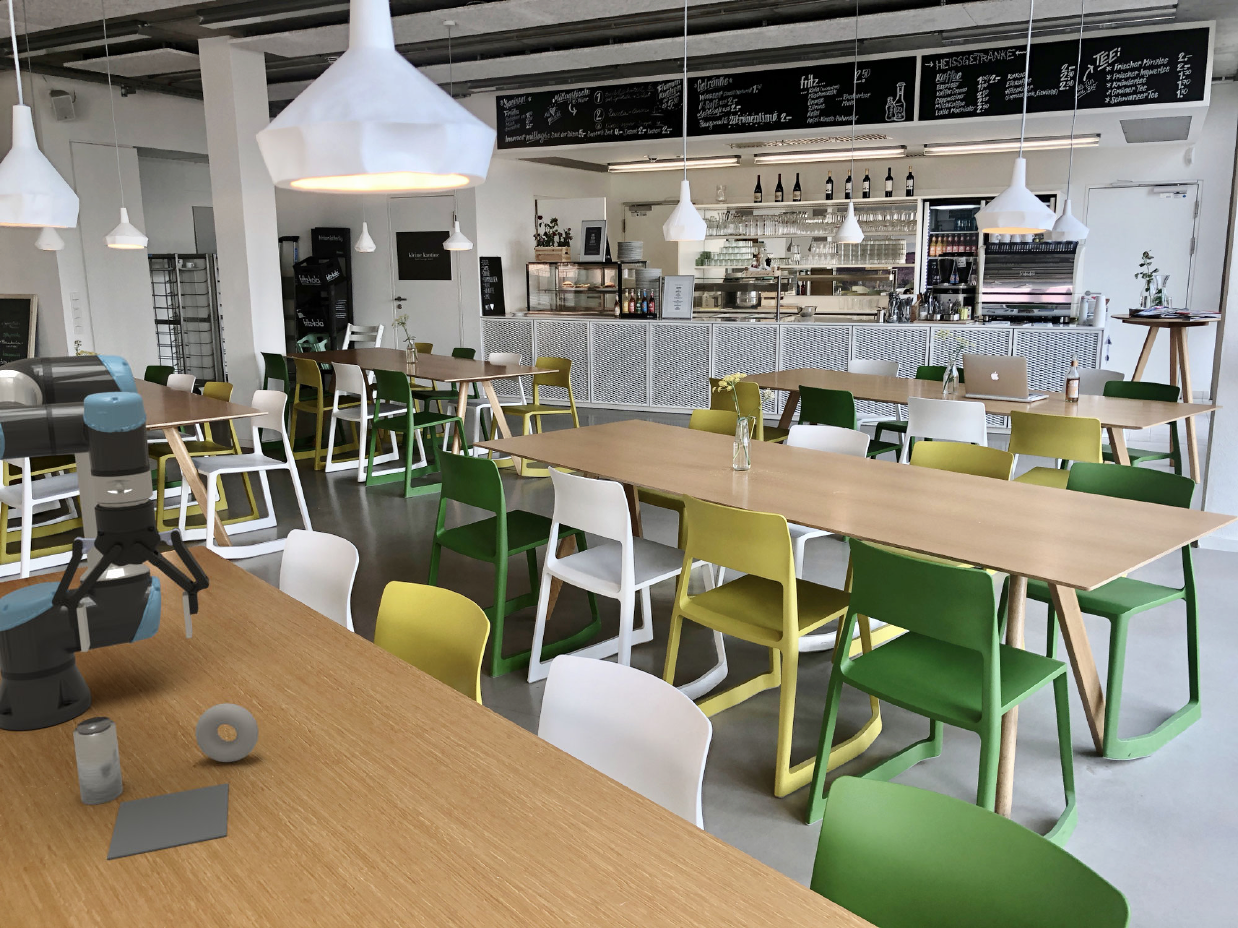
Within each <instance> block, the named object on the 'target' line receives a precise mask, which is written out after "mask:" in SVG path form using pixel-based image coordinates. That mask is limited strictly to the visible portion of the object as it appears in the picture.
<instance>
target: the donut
mask: <svg viewBox="0 0 1238 928" xmlns="http://www.w3.org/2000/svg"><path fill="white" fill-rule="evenodd" d="M222 725H228V726H230V727H232V728H233V729H234V730H235V733H236V737H235V739H233V740H225V739H223V738H222V737H221V736H220V734H219V732H218V731H219V730H218V729H219V727H221V726H222ZM194 735H195V739H196V742H197V746H198V748H199V749H200V750H201V751H202V753H203V754H204V755H206V756H207V757H208V758H210V759H212V760H214V761H216V762H222V763H231V762H232V763H233V762H237V761H240V760H242V759H243V758H245V757H247V756H248V755H249V754H250V753H251V752H252V751H253V750H254V748H255V747H256V744H257V742H258V740H259V727H258V722H257V720H256V719H255V717H254V716H253V714H252V713H251V712H250V711H249V710H248V709H247V708H245V707H243V706H241V705H239V704H234V703H228V702H226V703H225V702H224V703H219V704H215V705H213V706H211V707H210V708H208V709H206V710H205V711H204V712H203V713H202V714H201V715H200V717H199V719H198V721H197V723H196V725H195V734H194Z"/></svg>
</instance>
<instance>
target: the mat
mask: <svg viewBox="0 0 1238 928" xmlns="http://www.w3.org/2000/svg"><path fill="white" fill-rule="evenodd" d="M228 806H229V782H227V783H222V784H216V785H211V786H205V787H204V786H203V787H199V788H194V789H187V790H182V791H178V792H177V791H176V792H172V793H166V794H161V795H160V794H159V795H155V796H150V797H149V796H148V797H143V798H138V799H134V800H133V799H132V800H126V801H122V802H121V801H120V803H119V808H118V813H117V816H116V820H115V824H114V828H113V832H112V836H111V839H110V840H111V841H110V844H109V847H108V848H109V849H108V852H107V856H106V860H107V861H110V860H114V859H119V858H124V857H130V856H134V855H141V854H145V853H149V852H155V851H158V850H159V851H160V850H164V849H169V848H174V847H180V846H184V845H185V846H186V845H189V844H194V843H199V842H205V841H209V840H215V839H219V838H220V839H221V838H224V837H227V832H228V829H227V827H228V812H229V811H228V808H229V807H228Z"/></svg>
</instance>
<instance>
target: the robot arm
mask: <svg viewBox="0 0 1238 928" xmlns="http://www.w3.org/2000/svg"><path fill="white" fill-rule="evenodd" d="M134 378H135V377H134V374H133V371H132V369H131V366H130V364H129V362H128V361H127V360H126V359H125V357H123V356H120V355H112V354H111V355H108V354H107V355H106V354H92V355H91V354H90V355H89V354H88V355H70V356H49V357H41V356H40V357H39V356H35V357H28V358H22V359H18V360H17V359H16V360H14V361H11V362H8V363H5V364H3V365H1V366H0V461H4V460H13V459H24V458H35V457H46V456H62V455H74V457H75V458H74V459H75V466H76V475H77V476H76V477H77V484H78V492H79V500H80V501H79V502H80V507H81V508H80V509H81V510H80V511H81V518H82V526H83V535H84V537H83V536H80V535H78V536H76V537H75V538H74V540H73V542H72V545H71V546H72V547H71V550H72V551H71V557H70V559H69V562H68V564H67V567H66V569H65V571H64V573H63V575H62V577H61V579H60V581H47V582H46V581H45V582H40V583H36V584H31V585H28V586H24V587H21V588H19V589H16V590H14V591H10V592H9V593H8V594H5V595H3V596H2V597H0V728H1V729H4V730H9V731H28V730H36V729H41V728H46V727H51V726H54V725H59V724H61V723H64V722H67V721H70V720H71V719H74V718H76V717H78V716H80V715H81V714H83V713H85V711H87V710H88V709H89V708H90V707H91V705H92V696H91V695H92V694H91V689H90V688H89V686H88V684H87V682H86V681H85V679H84V677H83V675H82V673H81V671H80V669H79V668H78V666H77V661H76V653H79V652H81V653H86V652H88V651H90V650H95V649H100V648H101V649H102V648H106V647H112V646H117V645H123V644H127V643H128V644H133V643H135V642H139V641H143V640H147V639H152V637H154V636H156V634H157V633H158V631H159V629H160V624H161V614H162V593H161V591H162V590H161V588H162V587H161V580H160V578H159V576H156V575H151V570H150V567H149V566H147V565H146V564H145V563H146V562H148V563H149V564H151V565H152V566H154V567H156V568H157V569H158V570H159V571H161V572H162V573H163V574H164V575H165V576H166V577H168V578H169V579H170V580H172V582H174V583H175V584H176V585H178V586H179V587H180V589H182V590H183V591H182V605H183V617H184V627H185V638H186V639H192V638H193V625H192V624H193V623H192V615H197V614H198V612H199V598H198V597H199V596H198V593H199V592H200V591H202V590H205V589H208V588H209V587H210V578H209V577H208V575H207V574H206V572H205V571H204V569H203V568H202V566H201V565H200V564H199V562H198V561H197V560H196V558H195V557H194V555H193V553H192V552H191V551H190V550H189V548H188V546H187V545H186V544H185V543H184V540H183V537H182V531H181V529H180V528H179V527H173V528H172V529H171V530H167V531H166V530H165V531H160V532H159V530H158V528H157V522H156V511H155V502H154V501H153V500H152V499H150V498H151V497H152V496H153V495H154V491H153V483H152V482H153V481H152V470H151V465H150V457H149V443H148V433H147V431H148V430H147V423H146V421H147V419H148V418H147V413H146V410H145V404H144V399H143V396H142V395H141V394H139V392H138V388H137V384H136V381H135V380H136V379H134ZM161 541H164V542H165V543H166V544H167V545H168V546H172V547H173V550H174V551H175V553H176V554H177V556H178V557H179V558H180V560H181V561H182V563H183V564H184V565H185V567H186V568H187V570H188V572H190V574H191V575H192V577H193V578H194V579H195V581H194V580H193V579H191V578H190V577H189V576H187V574H185V573H184V572H183V571H181V570H180V568H178V567H177V566H175V564H173V563H172V561H170V560H169V559H167V558H166V557H165V556H164V555H163V554H162V553H161V552H160V551H159V550H158V549H157V547H158V546H159V544H160V543H161ZM84 555H86V558H87V559H86V560H87V569H86V570H85V571H84V572H83V573H82V574H81V575H80V577H79V581H80V584H79V586H78V587H76V588H70V585H71V583H72V581H73V580H74V579H73V578H74V576H75V574H76V572H77V569H78V567H79V566H80V563H81V561H82V559H83V556H84ZM69 588H70V589H69Z"/></svg>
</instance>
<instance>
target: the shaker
mask: <svg viewBox="0 0 1238 928" xmlns="http://www.w3.org/2000/svg"><path fill="white" fill-rule="evenodd" d="M72 735H73V743H74V749H75V750H74V751H75V759H76V767H77V777H78V784H79V792H80V800H81V802H82V803H83V804H84V805H91V806H93V805H94V806H95V805H101V804H104V803H108V802H111V801H113V800H116V799H117V798H118V797H119V796H121V795H122V793H123V791H124V789H123V779H122V778H123V777H122V770H121V762H120V753H119V743H118V736H117V735H118V734H117V726H116V722H115V721H113V720H111V718H110V717H108V716H95V717H91V718H88V719H85V720H82V721H80V722H79V723H78V724H77V726H76V728H74V730H73V731H72Z"/></svg>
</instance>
